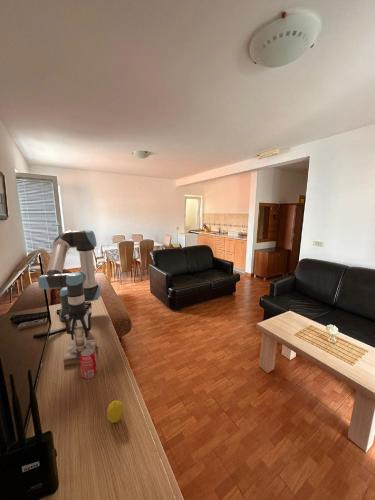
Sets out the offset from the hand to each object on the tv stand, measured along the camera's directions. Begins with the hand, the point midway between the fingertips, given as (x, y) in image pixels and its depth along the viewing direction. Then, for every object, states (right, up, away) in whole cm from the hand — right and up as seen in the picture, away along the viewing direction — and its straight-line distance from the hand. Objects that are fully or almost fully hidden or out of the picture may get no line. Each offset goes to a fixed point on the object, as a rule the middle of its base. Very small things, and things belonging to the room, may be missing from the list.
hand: (80, 343), depth 112 cm
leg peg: (0, -5, +1) cm, 5 cm away
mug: (-11, -3, +22) cm, 25 cm away
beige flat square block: (0, -6, +1) cm, 7 cm away
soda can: (+11, -9, -13) cm, 19 cm away
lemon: (+31, -13, -35) cm, 49 cm away
